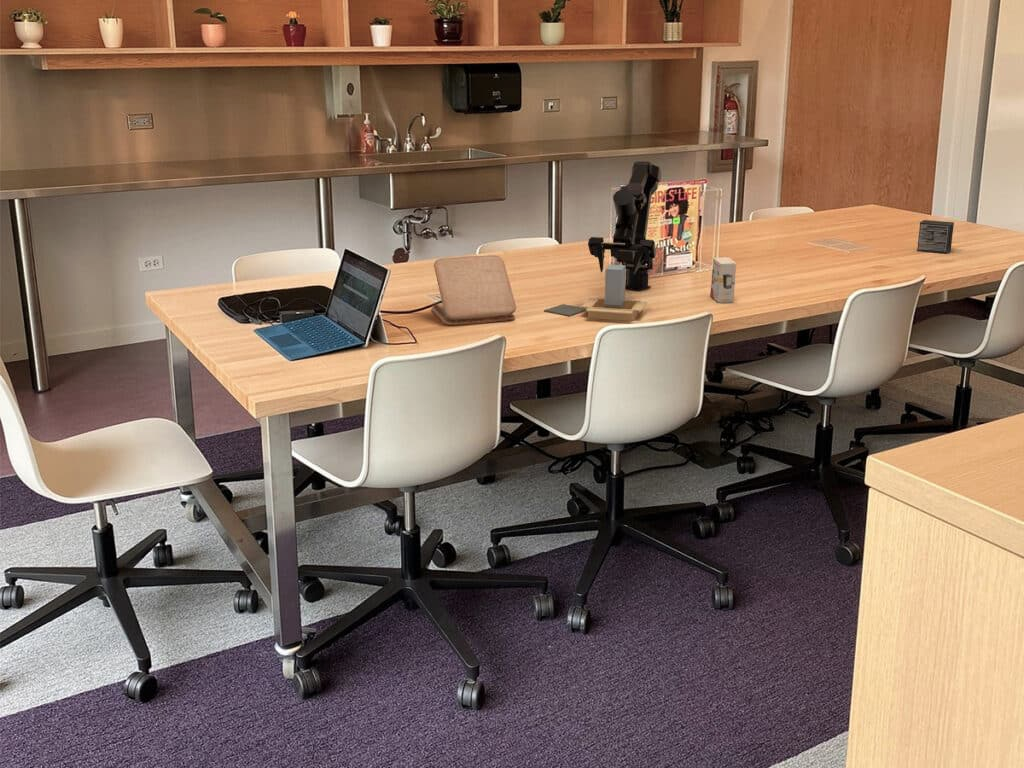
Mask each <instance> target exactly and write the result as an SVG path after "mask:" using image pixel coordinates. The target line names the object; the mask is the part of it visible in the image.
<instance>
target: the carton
mask: <svg viewBox="0 0 1024 768" xmlns="http://www.w3.org/2000/svg"><path fill="white" fill-rule="evenodd" d="M647 304H648V301H641V300H637V299H636V300H635V299H634V300H633V299H625V309H613V308H605V297H604V298H602V297H596V298H595V297H594V298H592V297H589V298H588V299H587V300H586V301H585V303H583V305H581V307H582V308H587V309H586V311H585V312H587V318H589V319H599V320H600V319H602V320H613V321H614V320H617V321H630V322H631V321H632V322H633V321H634V320H635V319H636V317H637V316H638V314H639V313H640V312H642V311H643V310H644V308H645V306H646V305H647Z"/></svg>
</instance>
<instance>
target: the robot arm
mask: <svg viewBox="0 0 1024 768" xmlns="http://www.w3.org/2000/svg"><path fill="white" fill-rule="evenodd" d="M661 179H662V170H661V167H659V166H658V165H654V164H653V163H652V162H650V161H645V160H641V161H638V160H637V161H634V163H633V165H632V167H631V175H630V179H629V181H628V183H627V184H626V185H623V186H622V187H621V188H620V189H618V190H617V191H616V192H614V193H613V196H612V198H613V199H612V200H613V203H614V204H613V205H614V209H615V214H616V215H617V219H616V223H615V226H614V227H615V228H614V234H613V236H612V242H611V241H610V242H609V241H608V242H607V241H604V237H602V236H600V237H599V236H590V238H589V239H588V241H587V246H588V250H589V253H590V256H593V257H595V258H597V259H598V264H599V269H600V270H599V271H600V273H603V271H604V263H605V261H604V260H605V253H606V250H609V252H610V257H611V258H613V257H614V259H616V261H617V263H620V264H621V265H626V273H625V289H628V290H631V291H641V290H642V291H643V290H646V289H650V288H651V287H652V286H651V285H649V274H648V272H649V271H650V270H653V268H654V260H653V259H655V258H656V254H657V248H656V242H655V241H654V239H647V232H648V231H647V230H648V223H649V218H650V217H649V215H650V209H651V201H652V196H653V195H654V194H655V193H656V191H657V190H658V188H659V183H661Z"/></svg>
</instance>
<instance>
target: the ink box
mask: <svg viewBox="0 0 1024 768" xmlns="http://www.w3.org/2000/svg"><path fill="white" fill-rule="evenodd" d="M712 258H713V259H712V260H713V261H712V268H711V269H712V270H711V271H712V272H711V283H710V292H709V293H710V294H709V296H710V297H711V298H712V299H714V300H715V301H716V302H717V303H723V304H724V303H732V304H733V303H734V300H735V286H736V271H737V262H735V261H734V259H732V258H730V257H724V256H723V257H712Z"/></svg>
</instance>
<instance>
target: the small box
mask: <svg viewBox="0 0 1024 768" xmlns="http://www.w3.org/2000/svg"><path fill="white" fill-rule="evenodd" d="M954 224H955V222H953V221H942V220H928V219H923V220H921V221H920V222H919V229H918V230H919V231H918V239H917V248H916V252H920V253H921V252H923V253H934V254H945V255H948V254H949V253H950V252H951V251H952V243H953V235H954Z"/></svg>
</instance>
